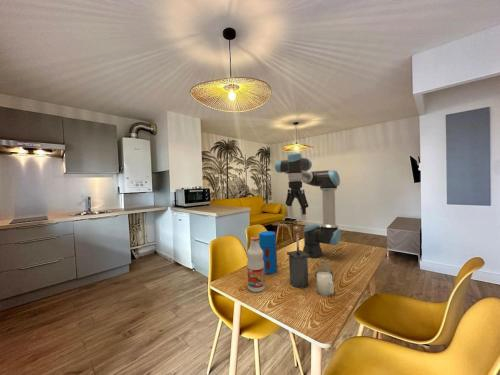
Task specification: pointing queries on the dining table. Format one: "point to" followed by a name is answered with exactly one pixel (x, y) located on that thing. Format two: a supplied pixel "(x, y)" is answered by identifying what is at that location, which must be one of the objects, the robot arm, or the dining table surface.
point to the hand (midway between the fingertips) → (296, 218)
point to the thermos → (268, 251)
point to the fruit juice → (255, 266)
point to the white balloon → (325, 284)
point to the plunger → (297, 236)
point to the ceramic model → (324, 270)
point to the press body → (298, 269)
